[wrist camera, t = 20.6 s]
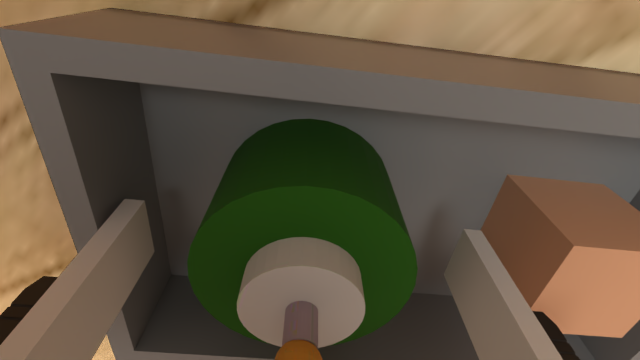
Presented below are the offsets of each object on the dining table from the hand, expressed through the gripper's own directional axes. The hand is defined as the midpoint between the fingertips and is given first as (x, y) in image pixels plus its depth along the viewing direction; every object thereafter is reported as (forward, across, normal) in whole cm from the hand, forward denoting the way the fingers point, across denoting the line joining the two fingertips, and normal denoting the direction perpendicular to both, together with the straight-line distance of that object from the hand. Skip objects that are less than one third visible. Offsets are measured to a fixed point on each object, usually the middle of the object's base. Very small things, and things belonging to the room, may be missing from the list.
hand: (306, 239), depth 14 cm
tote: (+4, +4, 0) cm, 6 cm away
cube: (+3, +12, 0) cm, 12 cm away
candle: (+3, 0, 0) cm, 3 cm away
